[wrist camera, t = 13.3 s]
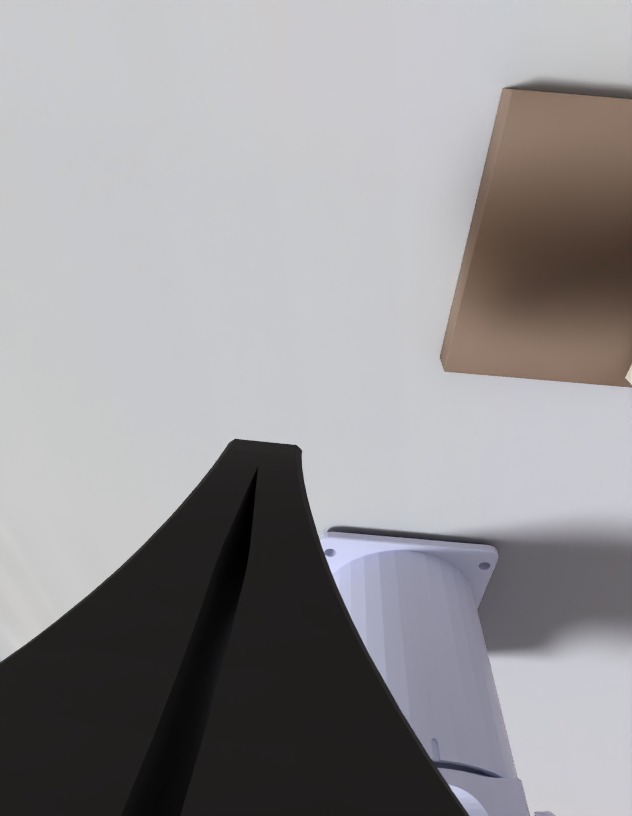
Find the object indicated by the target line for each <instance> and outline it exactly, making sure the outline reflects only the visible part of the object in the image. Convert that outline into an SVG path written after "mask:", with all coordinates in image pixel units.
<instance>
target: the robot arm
mask: <svg viewBox="0 0 632 816" xmlns="http://www.w3.org/2000/svg"><path fill="white" fill-rule="evenodd" d="M301 457H302V450H301V449H300V448H299V447H298V446H297V445H290V444H280V443H270V442H260V441H250V440H240V439H234V440H233V441H231V442H230V443H229V444H228V445H227V447H226V448H225V450H224V451H223V453H222V454H221V456H220V457H219V458H218V460H217V461H216V463H215V464H214V465H213V467H212V468H211V469H210V470H209V472H208V473H207V474H206V475H205V477H204V478H203V479H202V481H201V482H200V483H199V484H198V486H197V487H196V488H195V489H194V490H193V491H192V493H191V494H190V495H189V496H188V497H187V498H186V499H185V501H184V502H183V503H182V504H181V505H180V506H179V508H178V509H177V510H176V511H175V512H174V513H173V514H172V516H171V517H170V518H169V519H168V520H167V521H166V522H165V523H164V524H163V525H162V526H161V527H160V528H159V529H158V530H157V531H156V532H155V533H154V534H153V535H152V536H151V537H150V538H149V539H148V541H147V542H146V543H145V544H144V545H143V546H142V547H141V548H140V549H139V550H138V551H137V552H136V553H135V554H133V555H132V556H131V557H130V558H129V559H128V560H127V561H126V562H125V563H124V564H123V565H122V566H121V567H120V568H119V569H117V570H116V571H115V572H114V573H113V574H112V575H111V576H110V577H109V578H107V579H106V580H105V581H104V582H103V583H102V584H101V585H99V586H98V587H97V588H96V589H95V590H94V591H93V592H91V593H90V594H89V595H88V596H87V597H85V598H84V599H83V600H82V601H80V602H79V603H78V604H77V605H76V606H74V607H73V608H72V609H71V610H69V611H68V612H67V613H66V614H64V615H63V616H62V617H61V618H60V619H58V620H57V621H56V622H55V623H53V624H52V625H51V626H49V627H48V628H47V629H46V630H44V631H43V632H42V633H40V634H39V635H38V636H36V637H35V638H34V639H32V640H31V641H30V642H28V643H27V644H26V645H24V646H23V647H21V648H20V649H19V650H17V651H16V652H14V653H13V654H11V655H10V656H9V657H7V658H6V659H4V660H3V661H2V662H0V816H530V814H529V810H528V806H527V801H526V797H525V793H524V789H523V785H522V781H521V780H520V779H519V778H517V773H516V769H515V765H514V761H513V757H512V753H511V748H510V744H509V740H508V736H507V732H506V728H505V724H504V719H503V715H502V711H501V707H500V703H499V699H498V694H497V690H496V686H495V682H494V678H493V674H492V669H491V665H490V661H489V657H488V653H487V649H486V645H485V640H484V636H483V632H482V628H481V624H480V620H479V615H478V611H477V609H478V607H479V604H480V602H481V600H482V597H483V595H484V592H485V590H486V587H487V585H488V583H489V580H490V578H491V575H492V573H493V571H494V568H495V566H496V563H497V561H498V557H499V556H498V553H497V550H496V548H495V547H493V546H490V545H481V544H470V543H458V542H447V541H435V540H423V539H412V538H400V537H388V536H377V535H365V534H354V533H342V532H326V533H324V534H323V535H322V536H321V538H320V540H319V537H318V534H317V530H316V527H315V523H314V520H313V516H312V513H311V510H310V506H309V502H308V498H307V494H306V489H305V484H304V478H303V471H302V458H301ZM329 549H333V550H329ZM483 562H484V563H483ZM535 816H555V815H554V814H553V813H552V812H549V811H544V812H535Z"/></svg>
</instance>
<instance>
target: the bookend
mask: <svg viewBox="0 0 632 816" xmlns="http://www.w3.org/2000/svg"><path fill="white" fill-rule="evenodd" d="M625 378H626V379H627V380H628V381H629V382H630V384H631V385H632V365H631V367H630V369H629V371H628V373H627V375H626V377H625Z"/></svg>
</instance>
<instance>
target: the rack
mask: <svg viewBox="0 0 632 816" xmlns="http://www.w3.org/2000/svg"><path fill="white" fill-rule="evenodd" d="M440 359H441V363H442V366H443V369H444V372H456V373H468V374H480V375H491V376H503V377H515V378H527V379H538V380H550V381H562V382H574V383H585V384H597V385H609V386H621V387H632V385H631V384H630V382H629V381H628V380H627V379H626V378H625V377H626V375H627V373H628V371H629V369H630V367H631V365H632V99H626V98H614V97H602V96H590V95H578V94H566V93H553V92H541V91H529V90H517V89H505V88H503V89H502V93H501V98H500V102H499V106H498V111H497V115H496V119H495V123H494V128H493V132H492V136H491V141H490V145H489V149H488V153H487V158H486V162H485V166H484V170H483V175H482V179H481V183H480V188H479V192H478V196H477V200H476V205H475V209H474V213H473V218H472V222H471V226H470V230H469V235H468V239H467V243H466V247H465V252H464V256H463V260H462V265H461V269H460V273H459V277H458V282H457V286H456V290H455V295H454V299H453V303H452V307H451V312H450V316H449V320H448V324H447V329H446V333H445V337H444V342H443V346H442V350H441V354H440Z"/></svg>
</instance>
